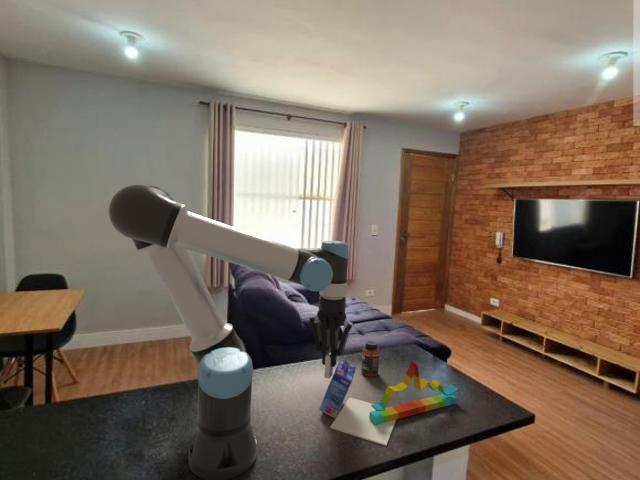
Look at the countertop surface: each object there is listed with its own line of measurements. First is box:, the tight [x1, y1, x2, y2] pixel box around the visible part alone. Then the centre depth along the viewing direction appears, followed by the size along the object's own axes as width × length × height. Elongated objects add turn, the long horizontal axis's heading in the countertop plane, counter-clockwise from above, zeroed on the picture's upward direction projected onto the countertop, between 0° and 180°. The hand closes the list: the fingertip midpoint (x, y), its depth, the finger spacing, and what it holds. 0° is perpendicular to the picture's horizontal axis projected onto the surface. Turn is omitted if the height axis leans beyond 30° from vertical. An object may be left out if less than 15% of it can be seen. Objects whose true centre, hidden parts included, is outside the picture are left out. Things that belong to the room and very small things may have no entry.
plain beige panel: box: [329, 397, 397, 447], centre depth 97 cm, size 15×16×1 cm
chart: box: [369, 361, 459, 425], centre depth 101 cm, size 30×3×15 cm, turn 117°
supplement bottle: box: [360, 340, 380, 377], centre depth 124 cm, size 6×6×11 cm
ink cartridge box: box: [319, 357, 357, 419], centre depth 100 cm, size 10×6×14 cm, turn 167°
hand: (328, 375), depth 101 cm, fingers closed
